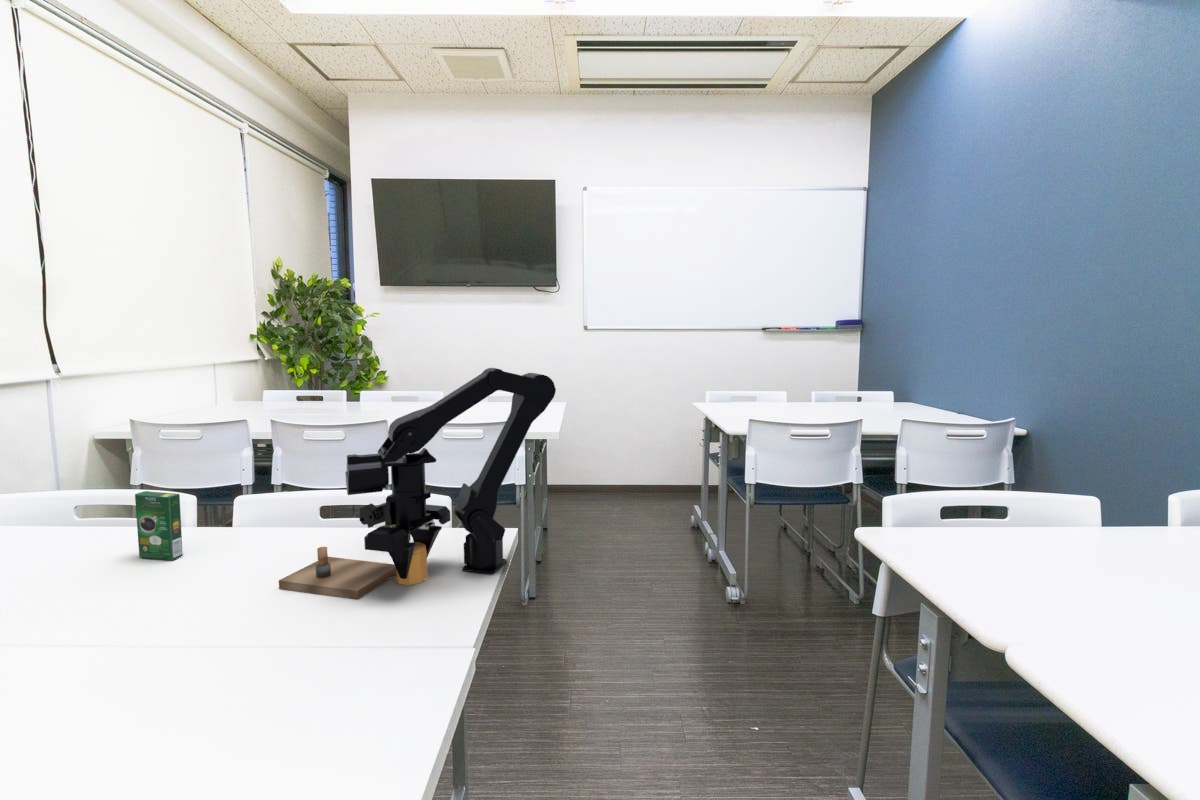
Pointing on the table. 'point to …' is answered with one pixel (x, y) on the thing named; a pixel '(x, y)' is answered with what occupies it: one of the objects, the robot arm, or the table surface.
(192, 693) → the table surface
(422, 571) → the orange wooden cylinder
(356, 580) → the wooden board with peg
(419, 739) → the table surface
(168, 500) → the coffee box
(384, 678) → the table surface
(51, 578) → the table surface
